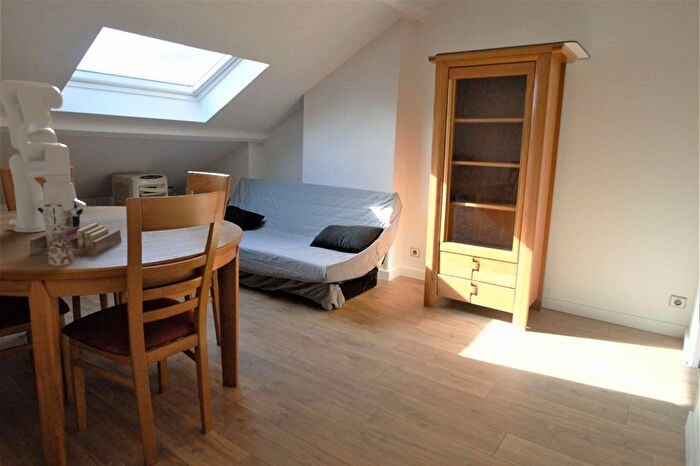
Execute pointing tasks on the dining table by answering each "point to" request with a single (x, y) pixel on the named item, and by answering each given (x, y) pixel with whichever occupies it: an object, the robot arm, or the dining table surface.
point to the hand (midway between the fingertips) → (62, 226)
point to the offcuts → (90, 235)
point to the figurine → (60, 248)
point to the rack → (98, 245)
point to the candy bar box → (58, 221)
